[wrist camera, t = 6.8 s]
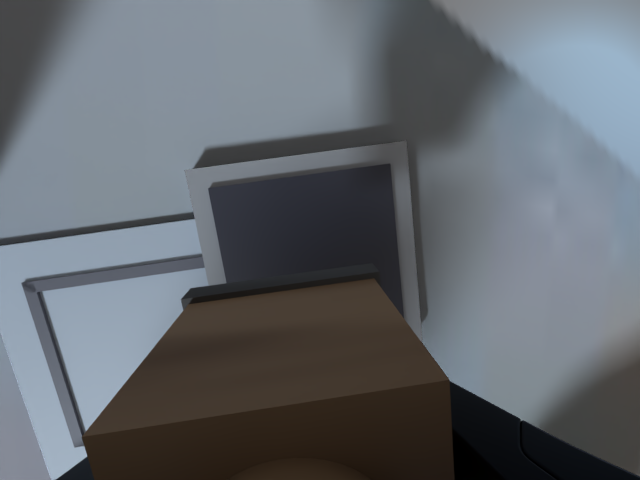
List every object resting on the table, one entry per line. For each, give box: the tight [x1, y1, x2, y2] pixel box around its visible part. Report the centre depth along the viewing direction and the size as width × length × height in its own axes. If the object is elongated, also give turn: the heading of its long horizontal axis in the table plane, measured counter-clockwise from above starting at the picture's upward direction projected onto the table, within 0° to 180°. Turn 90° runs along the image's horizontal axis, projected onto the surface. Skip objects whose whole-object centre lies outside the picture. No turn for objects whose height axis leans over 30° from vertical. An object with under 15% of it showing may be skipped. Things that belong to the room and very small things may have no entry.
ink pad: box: [185, 140, 422, 342], centre depth 18 cm, size 11×11×2 cm
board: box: [0, 219, 209, 480], centre depth 19 cm, size 14×14×1 cm
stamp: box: [82, 263, 455, 480], centre depth 6 cm, size 5×5×8 cm
